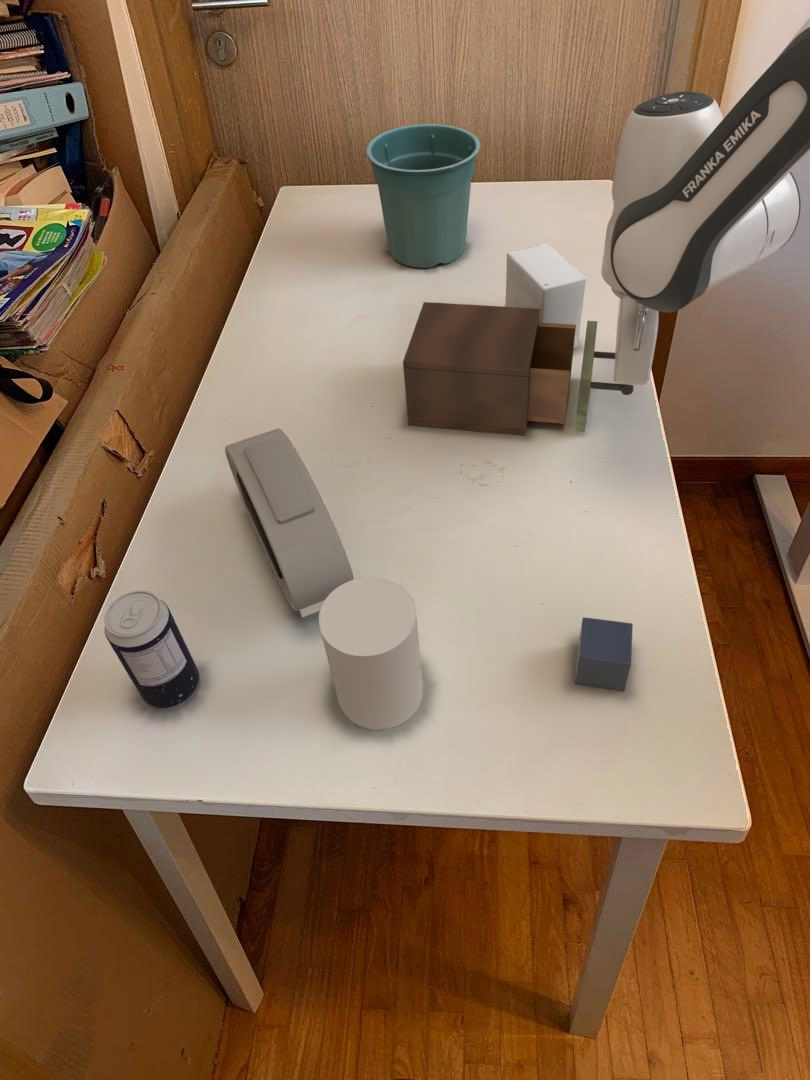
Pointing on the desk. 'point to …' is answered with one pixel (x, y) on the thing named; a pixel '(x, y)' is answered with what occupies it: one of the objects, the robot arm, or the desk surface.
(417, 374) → the cabinet
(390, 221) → the flower pot
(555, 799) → the desk surface
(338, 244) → the desk surface
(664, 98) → the robot arm
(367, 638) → the white solid cylinder
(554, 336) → the drawer
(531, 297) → the cosmetics box
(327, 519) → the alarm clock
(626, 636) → the block
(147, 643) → the beverage can
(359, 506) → the desk surface
